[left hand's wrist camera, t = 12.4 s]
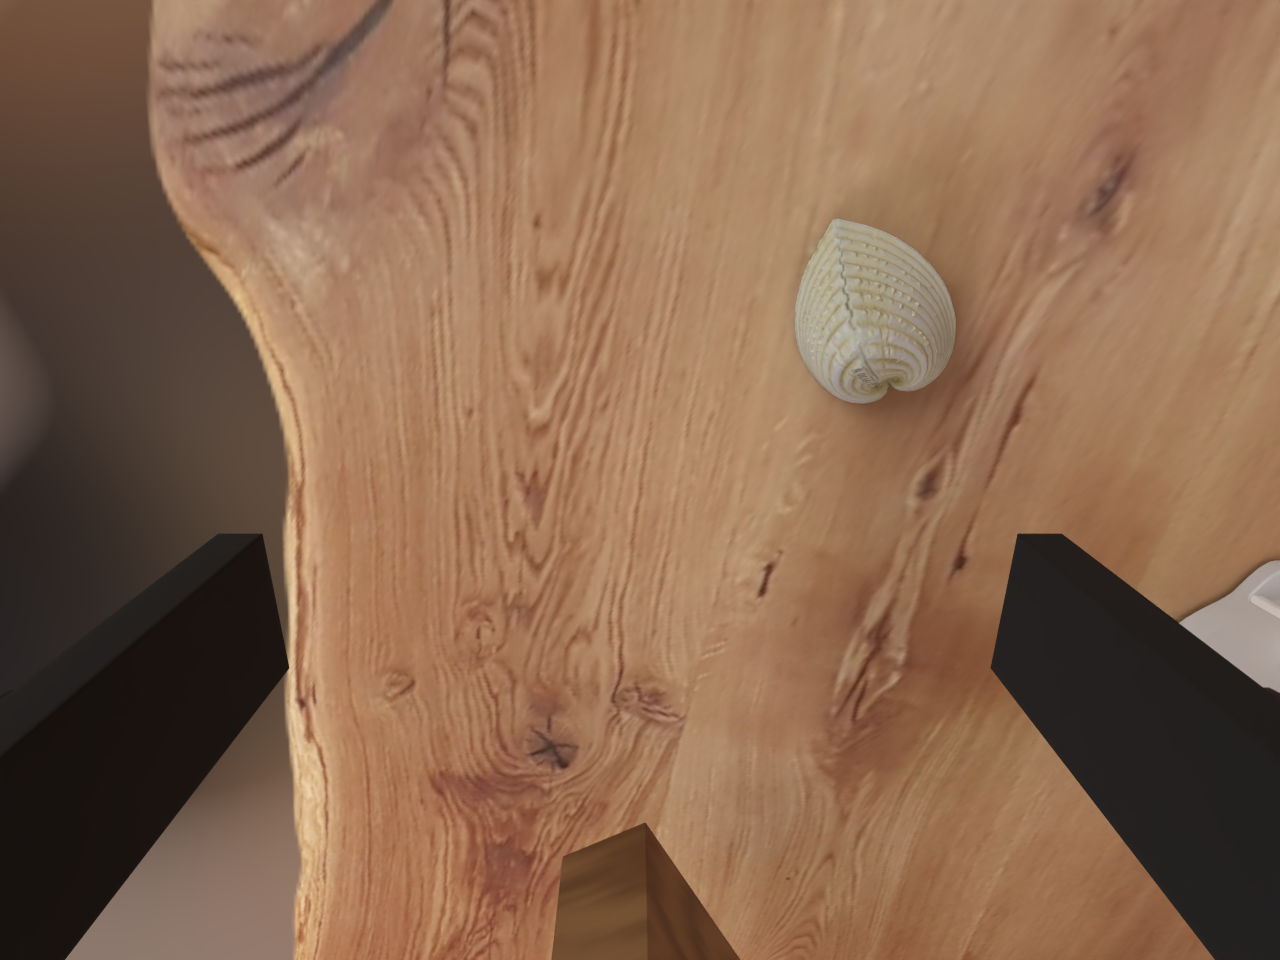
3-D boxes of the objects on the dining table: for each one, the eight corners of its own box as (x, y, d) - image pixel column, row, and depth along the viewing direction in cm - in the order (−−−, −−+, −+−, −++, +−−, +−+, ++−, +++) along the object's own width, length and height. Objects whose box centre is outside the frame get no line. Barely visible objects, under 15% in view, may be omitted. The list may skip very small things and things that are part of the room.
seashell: (821, 447, 40) (765, 360, 35) (815, 334, 45) (765, 241, 39) (977, 411, 36) (944, 307, 31) (954, 292, 41) (921, 181, 35)
